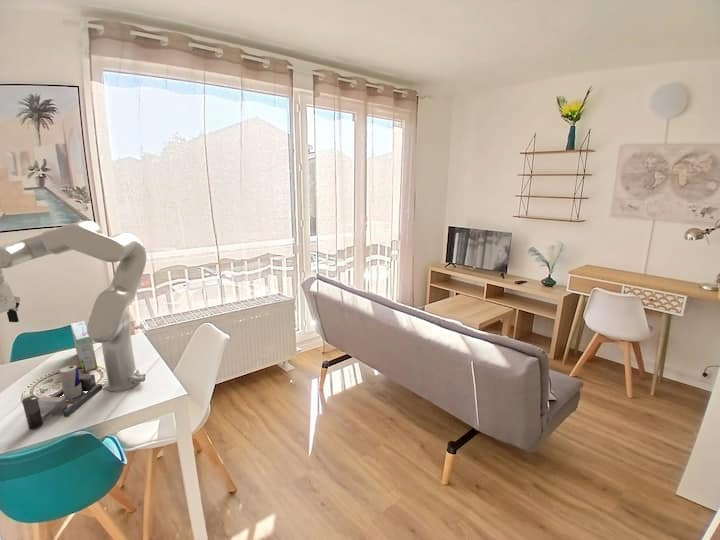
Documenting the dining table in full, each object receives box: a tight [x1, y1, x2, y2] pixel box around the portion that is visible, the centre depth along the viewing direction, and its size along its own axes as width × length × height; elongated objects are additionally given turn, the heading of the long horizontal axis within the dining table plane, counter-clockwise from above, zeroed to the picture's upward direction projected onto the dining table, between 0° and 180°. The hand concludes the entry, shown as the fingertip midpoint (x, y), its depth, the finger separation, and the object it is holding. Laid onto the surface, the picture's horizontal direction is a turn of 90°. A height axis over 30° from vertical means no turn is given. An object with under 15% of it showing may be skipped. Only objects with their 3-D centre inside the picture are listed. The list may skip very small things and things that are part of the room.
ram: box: [21, 395, 69, 430], centre depth 125 cm, size 8×10×10 cm
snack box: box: [70, 320, 99, 373], centre depth 163 cm, size 21×6×15 cm, turn 42°
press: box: [50, 373, 103, 418], centre depth 136 cm, size 12×17×6 cm
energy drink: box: [59, 364, 84, 402], centre depth 137 cm, size 5×5×12 cm
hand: (1, 327), depth 134 cm, fingers open, 9 cm apart
